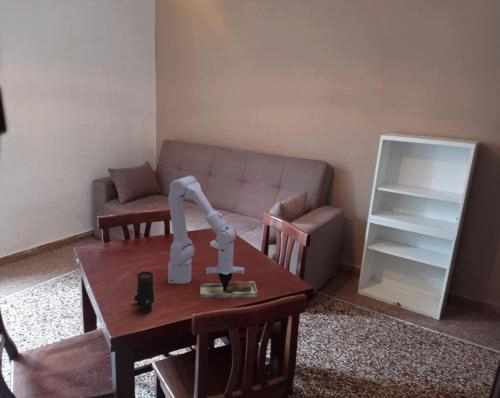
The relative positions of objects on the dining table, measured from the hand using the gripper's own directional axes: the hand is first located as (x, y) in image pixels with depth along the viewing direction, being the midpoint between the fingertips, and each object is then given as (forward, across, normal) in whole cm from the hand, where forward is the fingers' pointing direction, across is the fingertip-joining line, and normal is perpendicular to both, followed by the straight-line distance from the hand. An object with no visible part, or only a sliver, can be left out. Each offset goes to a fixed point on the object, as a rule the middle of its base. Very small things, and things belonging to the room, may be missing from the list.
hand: (224, 289), depth 152 cm
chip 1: (+1, +3, 0) cm, 3 cm away
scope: (+2, -29, -10) cm, 31 cm away
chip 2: (+1, +8, 0) cm, 8 cm away
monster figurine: (+2, +1, +49) cm, 49 cm away
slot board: (+2, +2, 0) cm, 2 cm away
